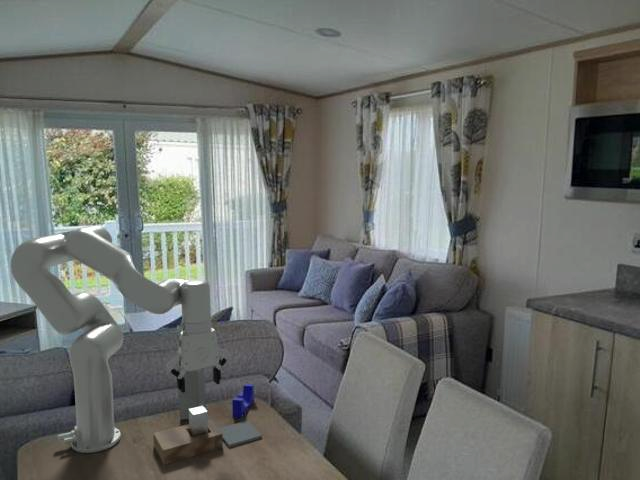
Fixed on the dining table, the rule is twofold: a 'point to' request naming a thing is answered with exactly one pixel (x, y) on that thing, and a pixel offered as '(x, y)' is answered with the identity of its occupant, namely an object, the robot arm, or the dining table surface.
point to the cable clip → (243, 401)
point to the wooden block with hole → (185, 442)
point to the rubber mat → (239, 433)
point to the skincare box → (192, 393)
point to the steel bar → (198, 421)
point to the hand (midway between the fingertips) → (199, 386)
